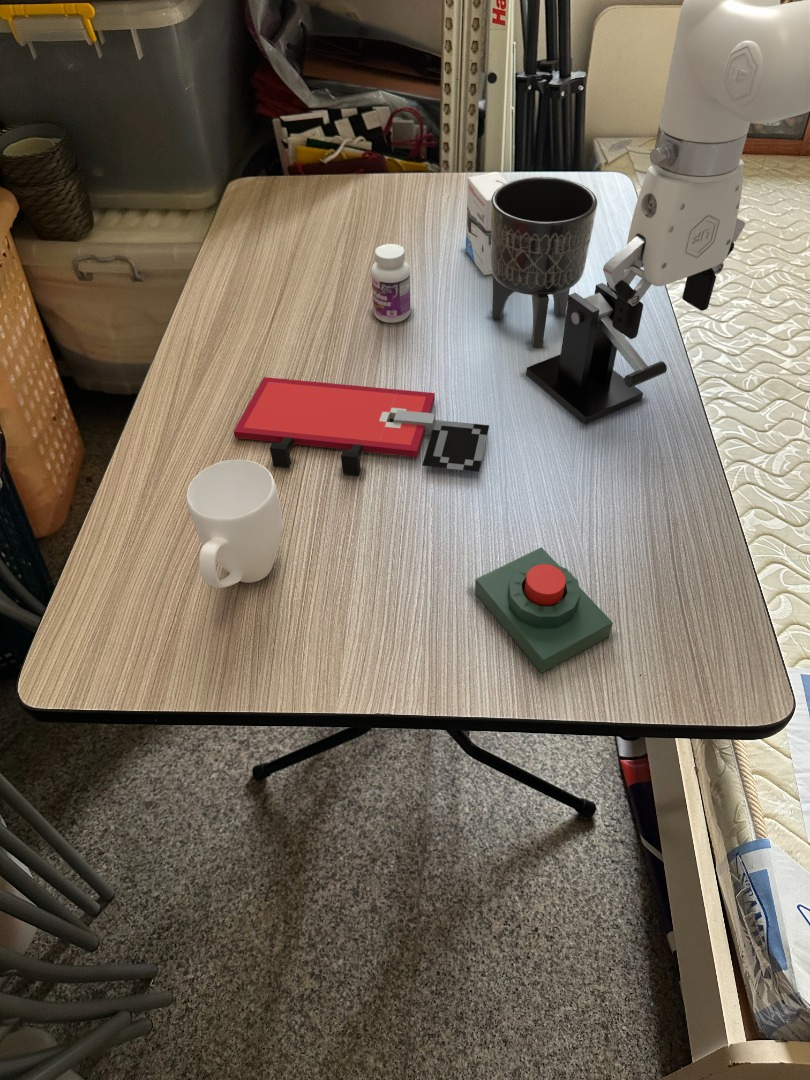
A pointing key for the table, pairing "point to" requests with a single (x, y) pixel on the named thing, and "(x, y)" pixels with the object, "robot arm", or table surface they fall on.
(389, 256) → the pill bottle
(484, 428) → the red board with handle
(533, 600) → the button
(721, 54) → the robot arm
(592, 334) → the bracket
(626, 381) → the tap lever
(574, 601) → the button box
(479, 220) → the ink box
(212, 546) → the mug
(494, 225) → the planter
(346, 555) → the table surface
